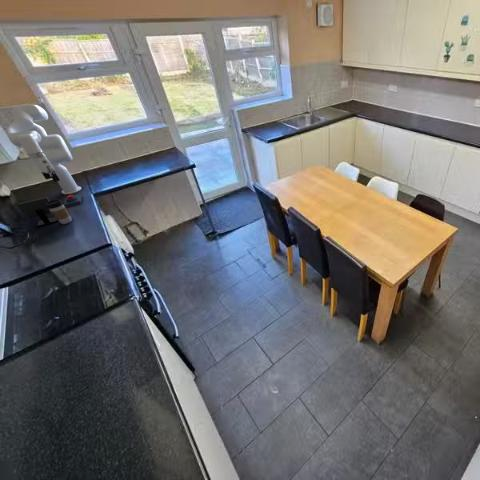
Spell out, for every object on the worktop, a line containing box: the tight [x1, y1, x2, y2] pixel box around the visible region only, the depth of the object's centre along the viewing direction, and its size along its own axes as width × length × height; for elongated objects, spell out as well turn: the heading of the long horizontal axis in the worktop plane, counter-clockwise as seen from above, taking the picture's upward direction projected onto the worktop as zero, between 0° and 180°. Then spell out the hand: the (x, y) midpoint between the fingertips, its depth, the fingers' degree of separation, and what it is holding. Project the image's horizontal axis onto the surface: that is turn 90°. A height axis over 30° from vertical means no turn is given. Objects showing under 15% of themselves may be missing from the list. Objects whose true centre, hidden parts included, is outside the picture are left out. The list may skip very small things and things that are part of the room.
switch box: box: [63, 194, 82, 208], centre depth 200 cm, size 11×9×4 cm
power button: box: [66, 194, 74, 199], centre depth 198 cm, size 4×4×2 cm
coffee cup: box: [46, 199, 73, 225], centre depth 175 cm, size 8×8×15 cm
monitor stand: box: [35, 209, 59, 228], centre depth 176 cm, size 7×10×10 cm
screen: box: [17, 196, 52, 219], centre depth 173 cm, size 2×14×10 cm, turn 124°
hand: (53, 179), depth 181 cm, fingers open, 9 cm apart
